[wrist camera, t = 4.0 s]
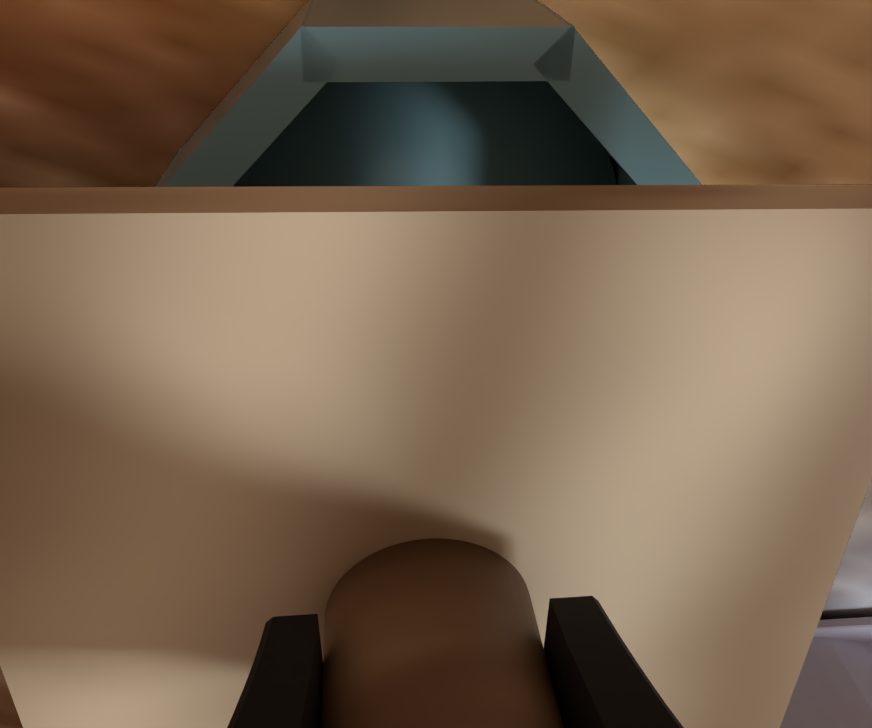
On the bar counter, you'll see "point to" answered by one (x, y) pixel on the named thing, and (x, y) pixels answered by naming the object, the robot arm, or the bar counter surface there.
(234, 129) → the dish
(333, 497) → the lid
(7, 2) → the bar counter surface
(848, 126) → the bar counter surface
